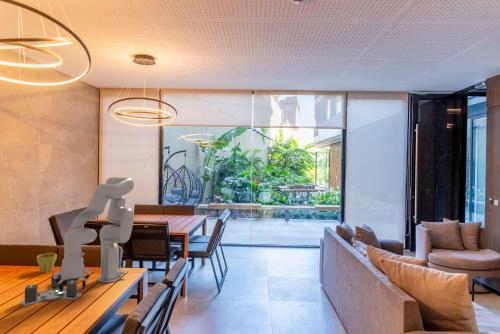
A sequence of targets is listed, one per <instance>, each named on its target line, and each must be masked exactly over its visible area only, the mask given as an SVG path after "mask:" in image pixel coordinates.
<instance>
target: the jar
mask: <svg viewBox="0 0 500 334" xmlns="http://www.w3.org/2000/svg"><path fill="white" fill-rule="evenodd" d="M59 271H61V268H60V269H59ZM73 280H78V281H79V280H80V278H76V279H67V280H63V281H62V282H63V285H67V282H68V281H73Z"/></svg>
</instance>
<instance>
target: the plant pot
mask: <svg viewBox="0 0 500 334" xmlns="http://www.w3.org/2000/svg"><path fill="white" fill-rule="evenodd" d="M57 256H58V255H57V253H53V252H52V253H51V252H50V253H49V252H48V253H43V254H42V253H41V254H39V255H37V256H36V263H37V264H38V267H39V272H40V273H42V274H43V273H46V274H47V273H50V272H52V271H53V270H54V268H55V267H54V266H55V264H56V261H57Z"/></svg>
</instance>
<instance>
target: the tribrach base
mask: <svg viewBox="0 0 500 334" xmlns="http://www.w3.org/2000/svg"><path fill="white" fill-rule="evenodd" d="M66 289H67V288H65V287H63V291H62V292H60V290H59V287H58V288H51V287H50V288H49V289H46V290H43V291H41V292H40V293H39V295H37V299H36V301H30V302H25V299H24V300H21V301H20V304H21V305H22V306H23V307H27V306H30V305H34V304H37V303H40V302H45V301H46V302H48V301H49V302H50V301H51V302H52V301H56V300H57V301H58V300H60V299H61V300H71V299H73V301H75V300H77V299H78V297H79V298H80V297H82V296H81V295H83V294H82V293H80V292H79V293H78V292H77V295H76V296H70V297H66Z"/></svg>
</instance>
